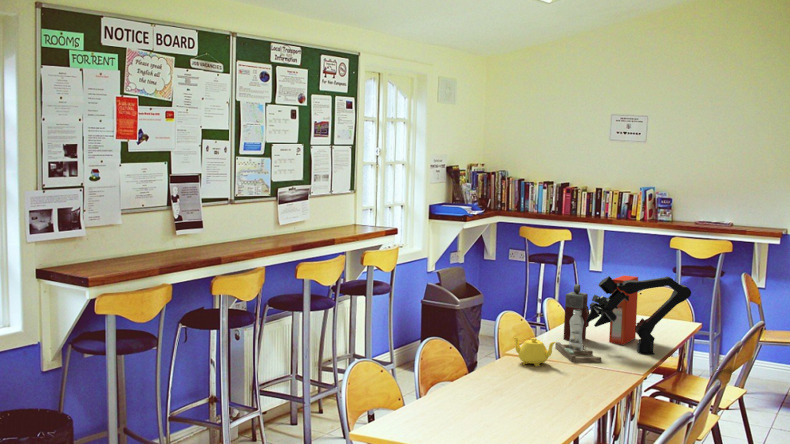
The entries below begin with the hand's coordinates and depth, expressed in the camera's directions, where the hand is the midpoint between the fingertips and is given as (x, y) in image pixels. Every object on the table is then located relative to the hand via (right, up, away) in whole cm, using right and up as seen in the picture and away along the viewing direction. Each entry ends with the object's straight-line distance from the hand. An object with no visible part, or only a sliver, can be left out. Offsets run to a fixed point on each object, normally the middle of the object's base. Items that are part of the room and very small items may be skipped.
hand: (590, 324), depth 369 cm
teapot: (-31, -15, -22) cm, 41 cm away
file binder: (+23, -12, +26) cm, 36 cm away
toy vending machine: (-1, -11, +26) cm, 28 cm away
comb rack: (-7, -14, -6) cm, 16 cm away
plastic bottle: (-7, -13, 0) cm, 15 cm away
